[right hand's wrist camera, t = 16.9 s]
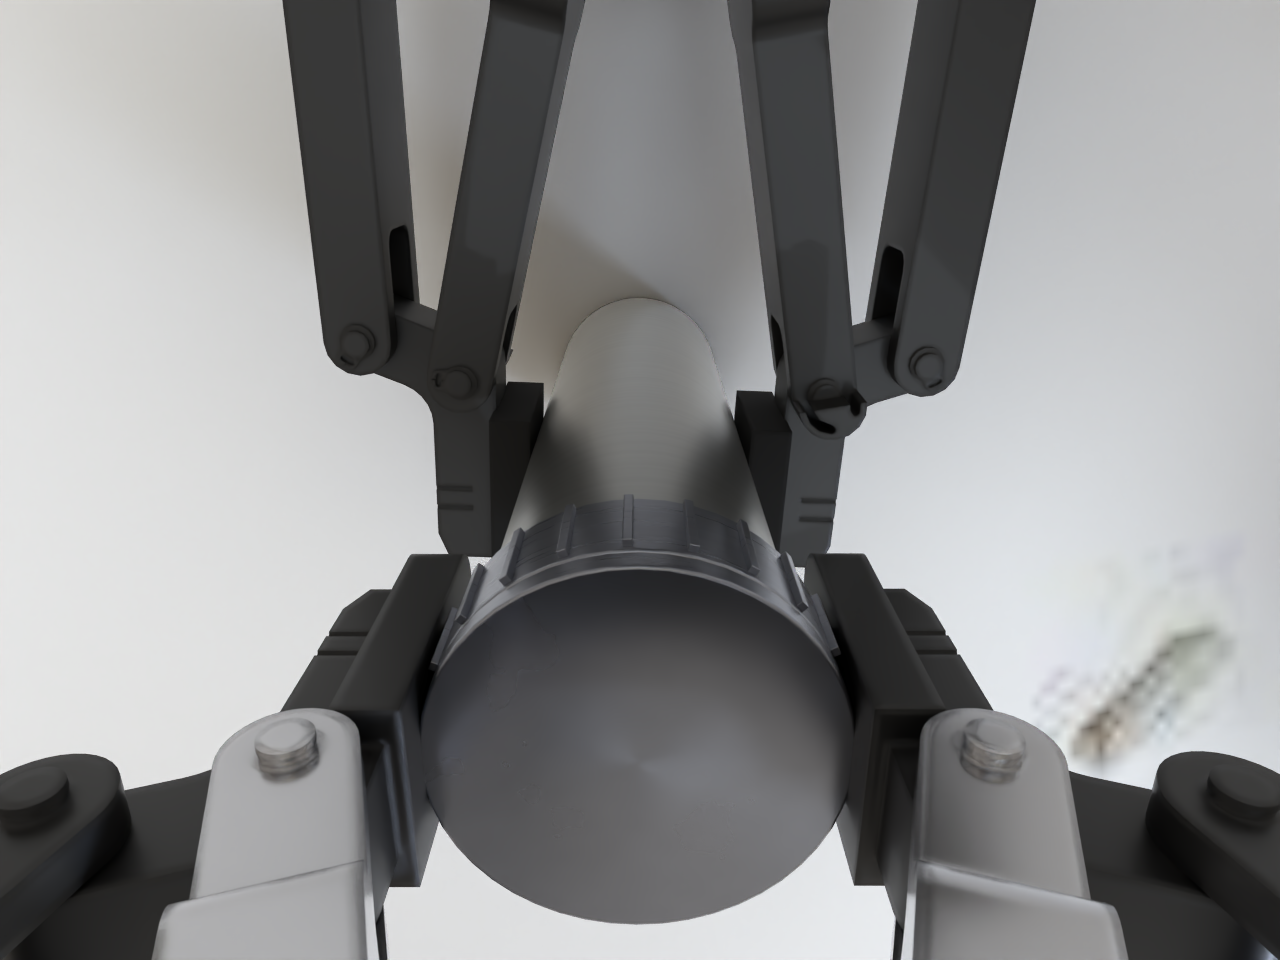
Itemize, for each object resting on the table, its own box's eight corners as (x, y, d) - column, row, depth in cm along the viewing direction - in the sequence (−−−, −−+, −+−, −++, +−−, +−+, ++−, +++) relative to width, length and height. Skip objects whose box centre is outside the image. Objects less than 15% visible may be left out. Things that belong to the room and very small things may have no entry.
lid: (909, 607, 11) (957, 693, 9) (699, 872, 12) (708, 985, 11) (560, 417, 10) (545, 473, 8) (380, 727, 11) (338, 827, 10)
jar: (745, 365, 24) (902, 717, 10) (645, 472, 25) (655, 929, 11) (630, 264, 23) (615, 490, 9) (532, 380, 24) (377, 750, 10)
